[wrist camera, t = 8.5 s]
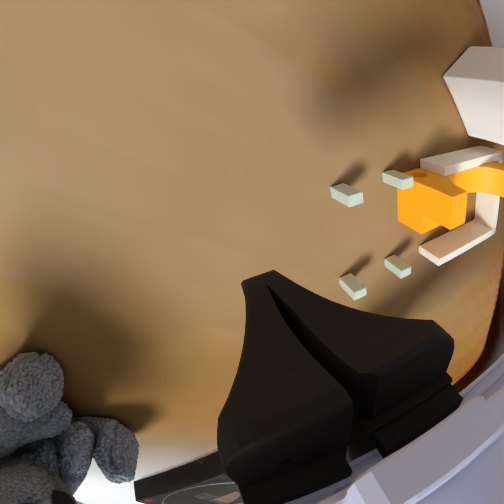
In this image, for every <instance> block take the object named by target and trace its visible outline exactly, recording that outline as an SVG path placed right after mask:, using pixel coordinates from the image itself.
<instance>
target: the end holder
mask: <svg viewBox="0 0 504 504" xmlns="http://www.w3.org/2000/svg"><path fill="white" fill-rule="evenodd" d="M493 161H495V162H498V163H501V164H502V151H499V150H496V149H492V148H489V147H486V146H482V145H480V146H475V147H471V148H466V149H462V150H457V151H453V152H448V153H444V154H440V155H436V156H431V157H427V158H423V159H420V168H422V169H425V170H428V171H431V172H434V173H437V174H439V175H442V176H448V175H451V174H454V173H457V172H461V171H464V170H467V169H470V168H474V167H477V166H480V165H484V164H487V163H490V162H493ZM499 199H500V196H497V195H493V194H488V193H479V192H476V206H475V216H474V220H472V221H470V222H468V223H466V224H464V225H462V226H460V227H458V228H456V229H454V230H452V231H449V232H447V233H445V234H443V235H441V236H439V237H437V238H435V239H433V240H431V241H428V242H426V243H424V244H422V245H420V246H419V253H420V254H421V255H423V256H424V257H426V258H427V259H429V260H430V261H432V262H433V263H435V264H436V265H438V266H440V265H442V264H443V263H445V262H447V261H449V260H451V259H452V258H454V257H456V256H458V255H460V254H461V253H463V252H465V251H466V250H468V249H470V248H472V247H473V246H475V245H477V244H478V243H480V242H482V241H483V240H485V239H487V238H488V237H490V236H492V235H493V234H495V230H496V223H497V216H498V208H499Z"/></svg>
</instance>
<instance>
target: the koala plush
mask: <svg viewBox="0 0 504 504" xmlns="http://www.w3.org/2000/svg"><path fill="white" fill-rule="evenodd" d="M63 381H64V377H63V370H62V369H61V367H60V366H59V364H58V363H57V361H55V360H54V357H52V356H51V355H50V356H49V355H47V353H45V354H41V355H39V354H38V353H37V352H34V351H33V352H31V353H30V352H28V353H25V352H24V353H21V354H19V355H17V357H15V358H14V359H13V361H11V362H10V363H8V364H7V366H6V367H5V368H4V369H3V370H1V371H0V504H77V502H76V500H75V498H74V497H73V494H74V493H75V492H76V490H77V489H78V487H79V486H80V485H81V483H82V482H83V480H84V479H85V477H86V475H87V471H88V470H89V467H90V465H91V461H92V458H94V459H95V461H96V463H97V465H98V467H99V468H100V470H101V471H102V473H103V474H104V475H105V477H106V479H108V480H109V481H111V482H114V483H118V484H120V483H122V482H130V481H132V480H134V476H135V470H136V465H137V458H138V454H139V452H138V451H139V449H138V447H139V444H138V441H137V439H136V438H135V435H134V433H133V432H131V430H129V429H128V428H125V427H124V425H122V424H120V422H119V421H116V420H115V419H107V418H101V417H100V418H98V417H85V416H83V417H74V418H72V410H70V409H69V408H68V406H67V404H65V403H64V402H63V401H61V397H62V395H63V388H64V382H63Z"/></svg>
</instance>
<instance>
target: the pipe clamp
mask: <svg viewBox="0 0 504 504" xmlns="http://www.w3.org/2000/svg"><path fill="white" fill-rule="evenodd" d="M403 173H404V174H407V175H409V176H412V177H413V187H411V188H408V189H405V190H401V189H399V188H397V193H398V221H399V222H401V223H403V224H405V225H406V226H408V227H410V228H411V229H413V230H415V231H417V232H418V233H420V234H422V233H425V232H427V231H429V230H431V229H434V228H436V227H438V226H440V225H442V226H444V227H445V228H447V229H449V230H452V229H454V228H456V227H458V226H460V225H462V224H464V223H465V217H466V205H467V193H471V192H479V193H488V194H493V195H497V196H501V197H504V164H501V163H498V162H495V161H493V162H490V163H487V164H484V165H480V166H477V167H474V168H470V169H467V170H464V171H461V172H457V173H454V174H451V175H448V176H442V175H439V174H437V173H434V172H431V171H428V170H425V169H422V168H418V169H414V170H411V171H407V172H403Z"/></svg>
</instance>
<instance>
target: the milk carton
mask: <svg viewBox="0 0 504 504" xmlns="http://www.w3.org/2000/svg"><path fill="white" fill-rule="evenodd" d="M443 78H444V80H445V82H446V84H447V86H448V88H449V91H450V93H451V95H452V97H453V99H454V102H455V104H456V106H457V108H458V111H459V113H460V116H461V118H462V120H463V123H464V125H465V128H466V131H467V133H468V135H469V136H473V137H476V138H480V139H484V140H488V141H491V142H495V143H498V144H502V145H504V48H503V47H477V46H471V47H469V48H468V49H467V50H466V51H465V52H464V53H463V54H462V55H461V57H460V58H459V59H458V60H457V61H456V62H455V63H454V64H453V65H452V66H451V68H450V69H449V70H448V71H447V72H446V73H445V74H444V76H443Z"/></svg>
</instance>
